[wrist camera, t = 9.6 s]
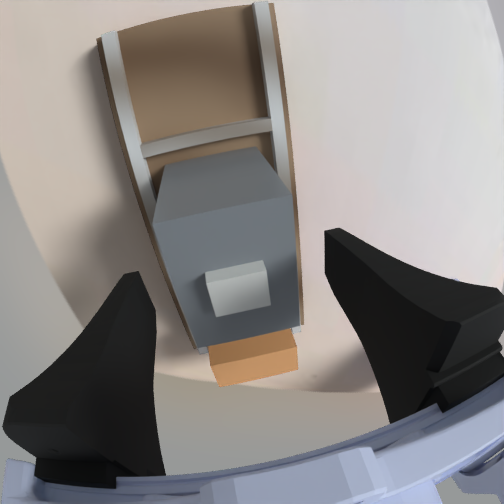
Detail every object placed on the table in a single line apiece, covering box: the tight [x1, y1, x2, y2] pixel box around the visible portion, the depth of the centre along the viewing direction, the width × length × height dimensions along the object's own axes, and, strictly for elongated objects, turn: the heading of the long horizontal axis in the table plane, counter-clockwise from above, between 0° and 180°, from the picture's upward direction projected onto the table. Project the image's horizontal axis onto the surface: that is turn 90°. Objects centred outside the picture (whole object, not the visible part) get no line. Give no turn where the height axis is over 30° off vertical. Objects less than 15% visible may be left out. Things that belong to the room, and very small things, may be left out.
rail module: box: [152, 146, 300, 348], centre depth 14 cm, size 6×4×7 cm
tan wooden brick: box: [208, 328, 298, 387], centre depth 19 cm, size 2×5×2 cm, turn 99°
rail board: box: [96, 1, 304, 354], centre depth 16 cm, size 20×8×2 cm, turn 8°
